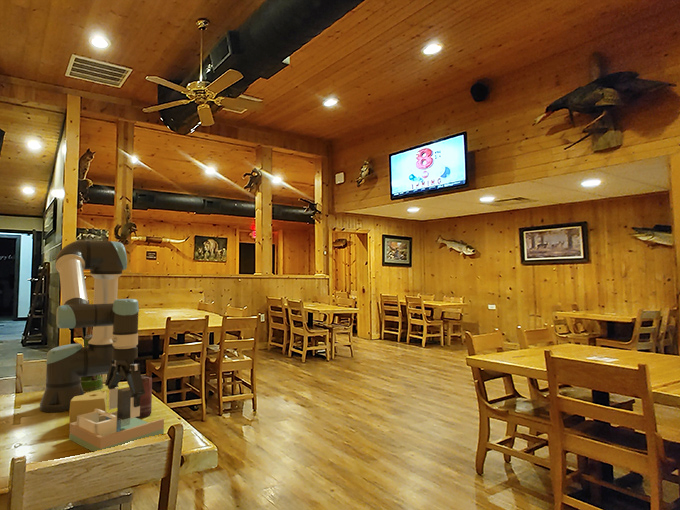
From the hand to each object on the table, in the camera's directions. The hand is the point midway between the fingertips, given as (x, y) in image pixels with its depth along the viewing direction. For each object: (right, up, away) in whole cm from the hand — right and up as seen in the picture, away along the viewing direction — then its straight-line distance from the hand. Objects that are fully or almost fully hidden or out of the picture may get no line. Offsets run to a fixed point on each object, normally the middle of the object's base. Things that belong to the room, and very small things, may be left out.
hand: (123, 412), depth 143 cm
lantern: (-41, -9, +53) cm, 68 cm away
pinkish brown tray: (-1, -7, -2) cm, 7 cm away
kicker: (-1, -5, -1) cm, 5 cm away
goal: (-5, -5, -7) cm, 10 cm away
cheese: (-17, -8, +9) cm, 21 cm away
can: (-2, -8, +19) cm, 20 cm away
